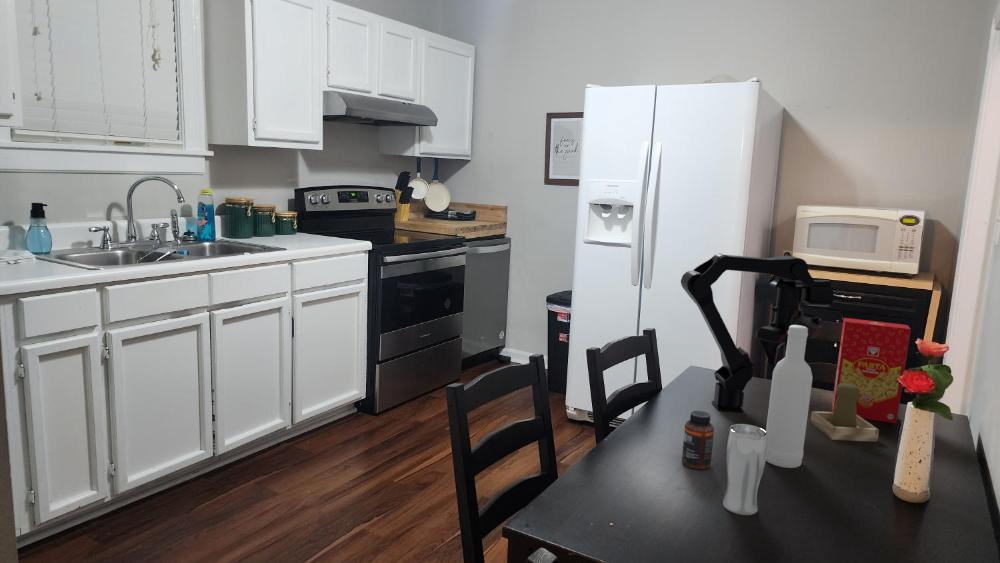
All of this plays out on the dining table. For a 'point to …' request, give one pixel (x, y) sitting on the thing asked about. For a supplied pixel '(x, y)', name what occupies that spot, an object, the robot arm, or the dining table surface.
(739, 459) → the beer glass
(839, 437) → the oak box
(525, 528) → the dining table surface
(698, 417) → the supplement bottle
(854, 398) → the olive green pepper shaker
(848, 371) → the food packaging
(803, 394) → the bottle
